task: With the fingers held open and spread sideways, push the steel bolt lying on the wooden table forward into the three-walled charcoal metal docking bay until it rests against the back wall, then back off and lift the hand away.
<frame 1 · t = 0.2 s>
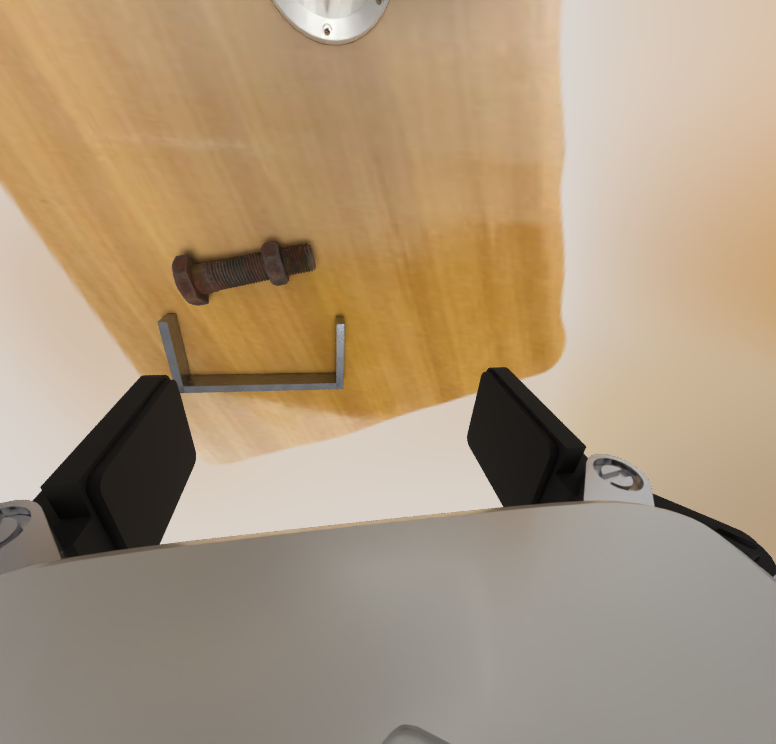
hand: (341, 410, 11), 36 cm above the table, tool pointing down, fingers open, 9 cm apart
dock: (263, 349, 47), on the table
bolt: (253, 265, 42), on the table
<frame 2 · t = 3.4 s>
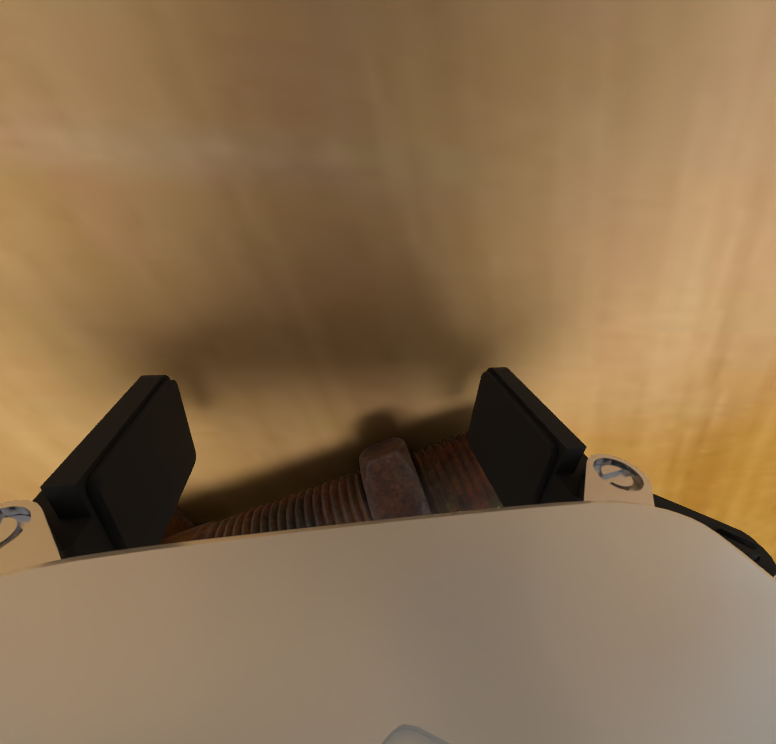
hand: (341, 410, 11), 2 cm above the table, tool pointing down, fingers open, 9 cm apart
bolt: (325, 479, 15), on the table, touching gripper
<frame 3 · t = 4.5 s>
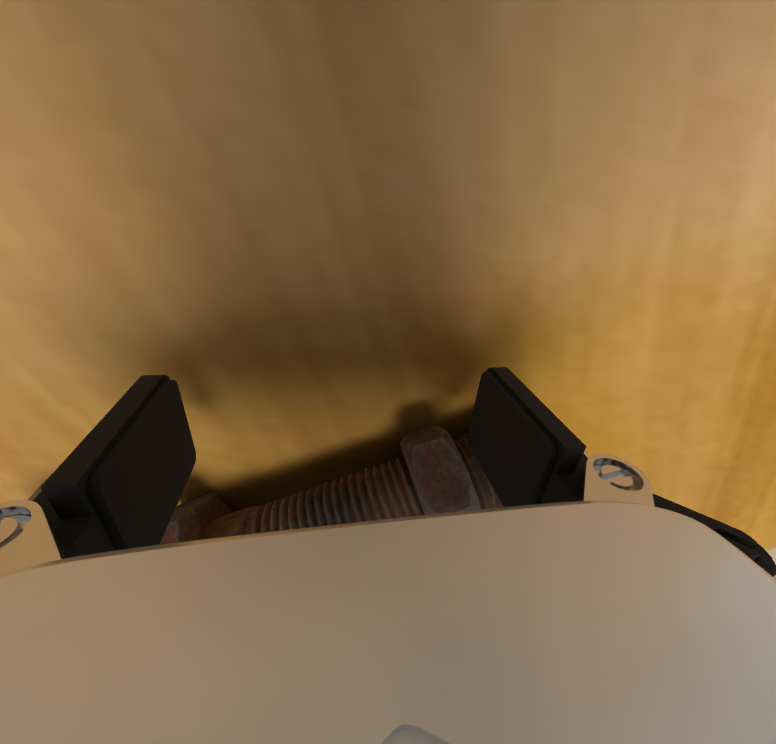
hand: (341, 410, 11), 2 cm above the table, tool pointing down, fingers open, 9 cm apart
bolt: (361, 467, 16), on the table
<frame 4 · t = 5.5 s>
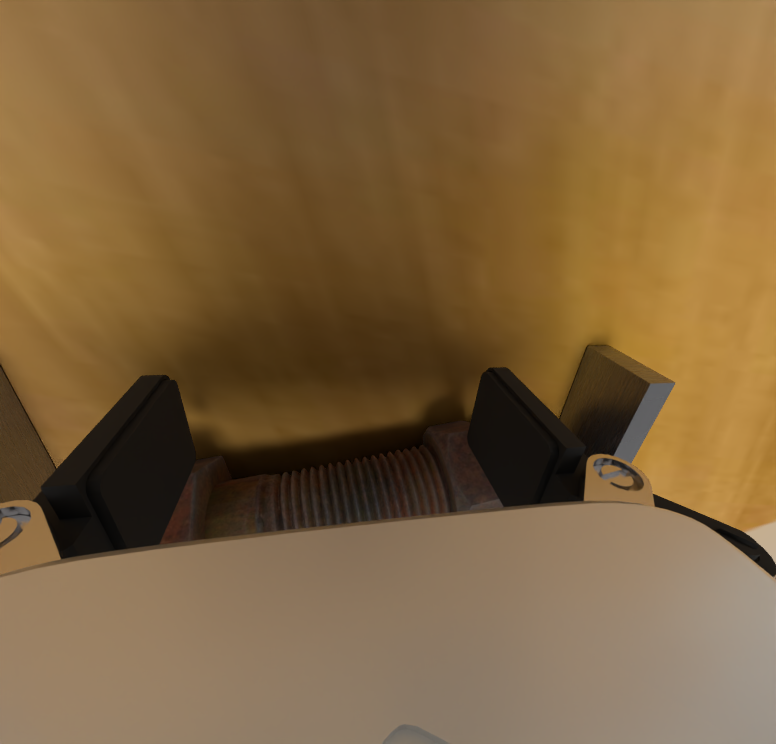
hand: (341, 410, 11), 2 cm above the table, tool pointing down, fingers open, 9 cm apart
dock: (338, 457, 14), on the table
bolt: (376, 453, 15), on the table, touching gripper
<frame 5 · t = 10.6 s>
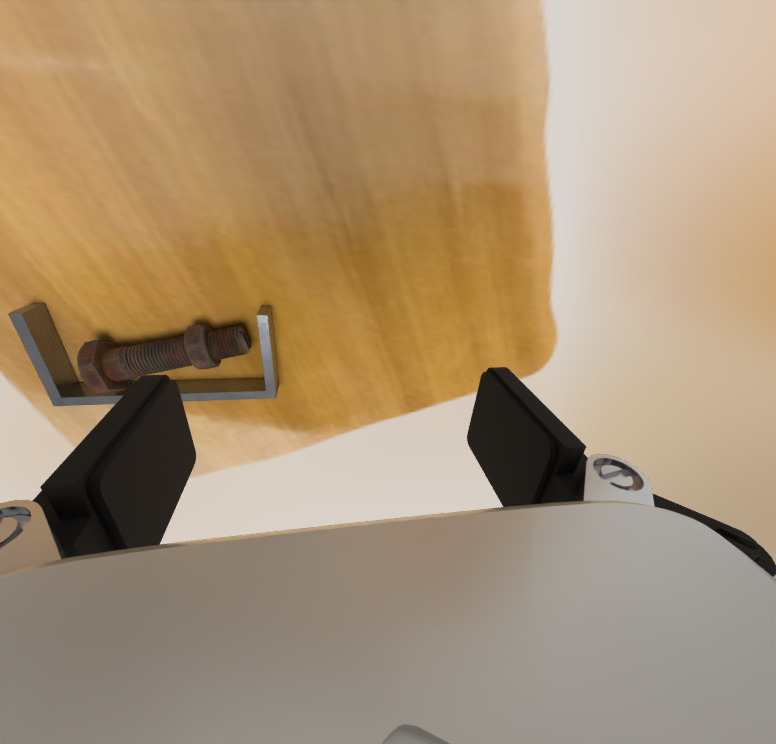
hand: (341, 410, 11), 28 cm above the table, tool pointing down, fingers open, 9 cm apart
dock: (170, 348, 37), on the table
bolt: (182, 344, 38), on the table
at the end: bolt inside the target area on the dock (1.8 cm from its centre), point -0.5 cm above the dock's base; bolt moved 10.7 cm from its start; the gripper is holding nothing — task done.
